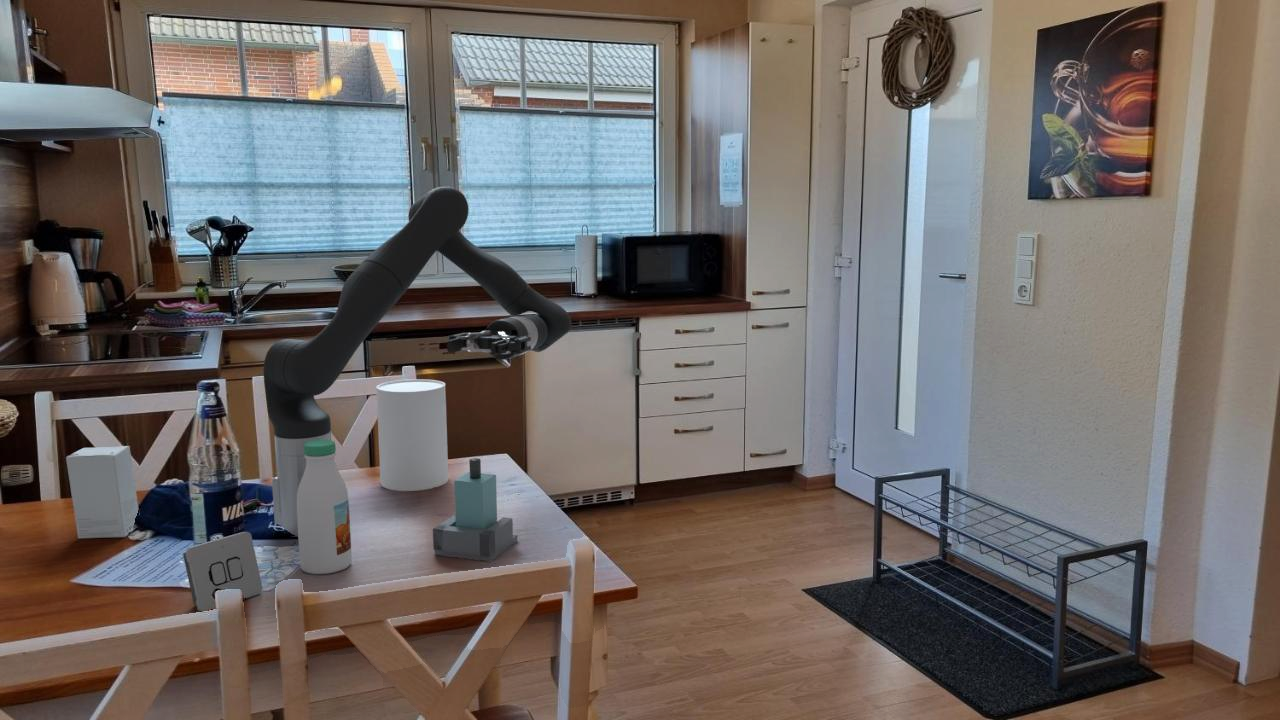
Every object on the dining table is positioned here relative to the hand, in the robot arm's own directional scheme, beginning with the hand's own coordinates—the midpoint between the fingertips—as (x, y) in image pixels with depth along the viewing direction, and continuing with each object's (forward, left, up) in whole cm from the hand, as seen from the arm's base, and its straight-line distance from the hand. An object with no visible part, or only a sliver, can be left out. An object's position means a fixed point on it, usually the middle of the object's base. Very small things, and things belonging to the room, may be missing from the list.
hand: (471, 348), depth 164 cm
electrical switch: (-26, -38, -32) cm, 56 cm away
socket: (+4, -13, -31) cm, 34 cm away
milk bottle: (-17, -24, -32) cm, 43 cm away
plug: (+4, -13, -30) cm, 33 cm away
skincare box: (-61, -15, -32) cm, 70 cm away
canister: (-20, +22, -32) cm, 43 cm away
